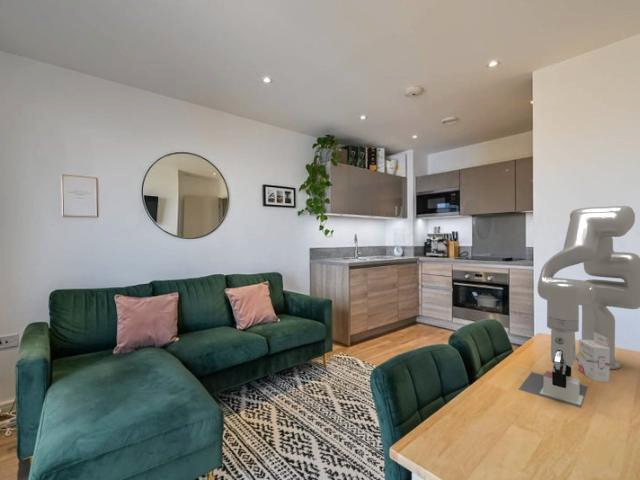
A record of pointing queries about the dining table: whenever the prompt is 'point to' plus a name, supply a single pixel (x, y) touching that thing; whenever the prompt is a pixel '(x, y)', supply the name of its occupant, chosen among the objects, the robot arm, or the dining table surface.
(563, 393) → the card deck case
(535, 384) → the mat
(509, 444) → the dining table surface
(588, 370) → the ink cartridge box
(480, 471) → the dining table surface
